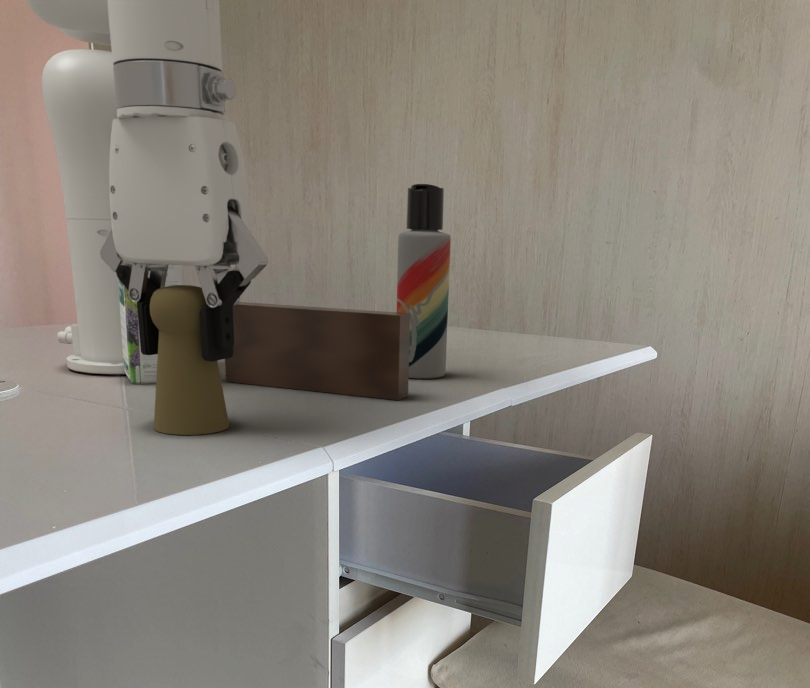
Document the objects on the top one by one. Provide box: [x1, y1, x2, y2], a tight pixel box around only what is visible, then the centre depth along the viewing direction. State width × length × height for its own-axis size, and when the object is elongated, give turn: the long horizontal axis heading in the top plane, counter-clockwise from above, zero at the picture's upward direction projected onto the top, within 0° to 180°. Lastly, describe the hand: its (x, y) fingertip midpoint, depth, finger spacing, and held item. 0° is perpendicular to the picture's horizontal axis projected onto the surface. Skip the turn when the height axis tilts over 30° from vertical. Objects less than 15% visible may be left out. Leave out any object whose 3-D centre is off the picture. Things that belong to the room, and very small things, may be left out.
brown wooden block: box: [224, 301, 410, 401], centre depth 84 cm, size 20×2×8 cm, turn 66°
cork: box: [150, 284, 231, 436], centre depth 66 cm, size 6×6×11 cm
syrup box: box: [118, 265, 184, 385], centre depth 86 cm, size 6×6×14 cm
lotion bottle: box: [396, 183, 452, 380], centre depth 91 cm, size 6×6×20 cm
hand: (187, 353), depth 66 cm, fingers closed on cork, 5 cm apart
